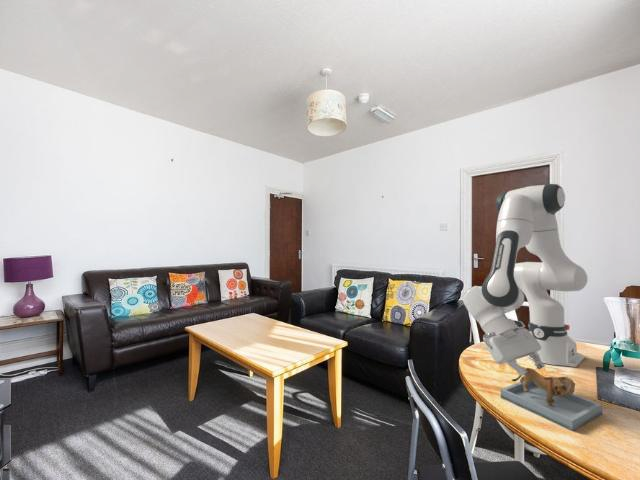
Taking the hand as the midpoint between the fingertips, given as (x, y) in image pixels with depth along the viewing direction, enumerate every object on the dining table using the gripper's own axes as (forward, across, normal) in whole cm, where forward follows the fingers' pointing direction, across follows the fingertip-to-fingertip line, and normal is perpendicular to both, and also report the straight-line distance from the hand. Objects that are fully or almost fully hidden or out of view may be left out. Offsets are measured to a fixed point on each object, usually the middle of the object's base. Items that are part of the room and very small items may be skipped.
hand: (533, 371), depth 88 cm
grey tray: (+9, 0, +3) cm, 9 cm away
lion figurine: (+6, 0, +4) cm, 7 cm away
